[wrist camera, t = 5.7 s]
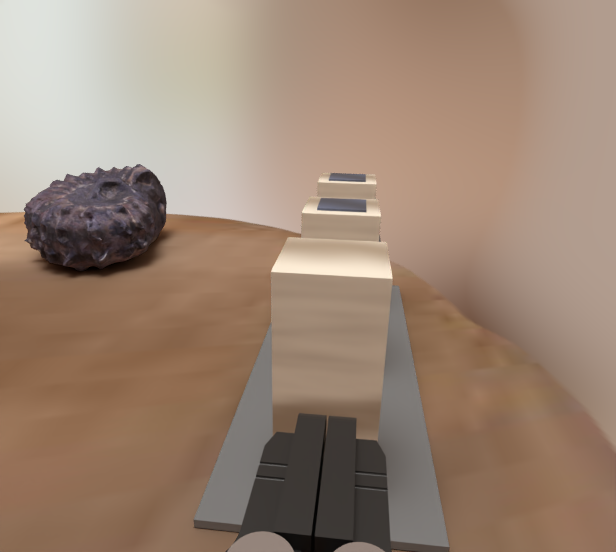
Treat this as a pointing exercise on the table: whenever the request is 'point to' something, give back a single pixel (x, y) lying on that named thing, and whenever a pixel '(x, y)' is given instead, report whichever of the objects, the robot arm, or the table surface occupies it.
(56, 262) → the dark grey rough lump
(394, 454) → the gray mat
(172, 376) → the table surface
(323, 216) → the labelled block
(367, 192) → the labelled block
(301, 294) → the plain block
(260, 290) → the table surface
